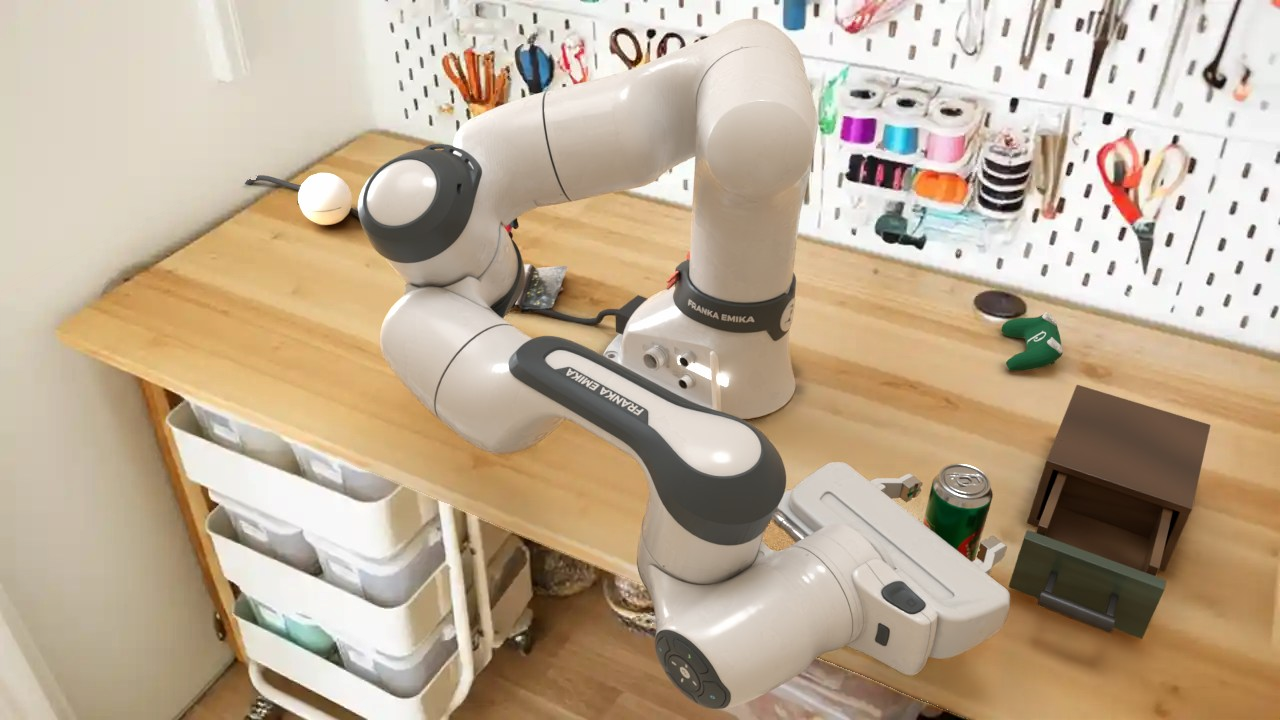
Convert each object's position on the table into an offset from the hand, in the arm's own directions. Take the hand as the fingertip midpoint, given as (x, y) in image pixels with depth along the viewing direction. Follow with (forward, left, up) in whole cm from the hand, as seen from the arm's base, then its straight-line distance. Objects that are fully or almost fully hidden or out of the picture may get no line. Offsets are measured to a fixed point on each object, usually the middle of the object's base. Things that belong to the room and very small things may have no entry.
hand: (956, 513), depth 91 cm
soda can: (0, 0, -8) cm, 8 cm away
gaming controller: (-1, +40, -8) cm, 41 cm away
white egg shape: (-95, +20, -8) cm, 98 cm away
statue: (-61, +20, -8) cm, 65 cm away
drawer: (+12, +5, -7) cm, 15 cm away
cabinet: (+12, +18, -8) cm, 23 cm away
